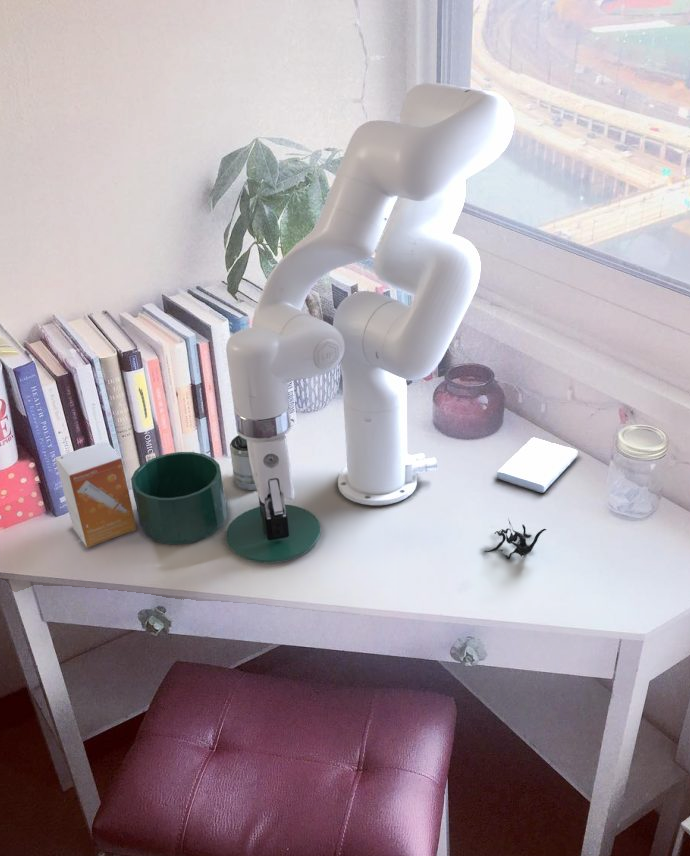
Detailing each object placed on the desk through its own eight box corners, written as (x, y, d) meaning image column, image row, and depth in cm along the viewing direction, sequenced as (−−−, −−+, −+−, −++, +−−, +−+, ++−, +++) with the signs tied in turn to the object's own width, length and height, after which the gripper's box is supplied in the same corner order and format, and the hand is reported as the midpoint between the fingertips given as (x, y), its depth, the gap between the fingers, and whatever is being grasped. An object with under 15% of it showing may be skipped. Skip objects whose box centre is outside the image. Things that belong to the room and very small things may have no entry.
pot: (221, 488, 146) (215, 446, 141) (231, 535, 135) (225, 491, 131) (139, 502, 144) (129, 459, 139) (142, 550, 133) (133, 506, 129)
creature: (474, 552, 131) (507, 571, 125) (471, 518, 129) (504, 536, 122) (519, 535, 134) (553, 553, 127) (516, 502, 132) (551, 519, 125)
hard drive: (496, 479, 145) (531, 444, 153) (543, 494, 141) (577, 458, 149) (496, 470, 144) (532, 436, 152) (544, 485, 140) (578, 449, 148)
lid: (310, 503, 142) (308, 470, 138) (329, 556, 130) (327, 521, 127) (221, 518, 139) (216, 485, 136) (233, 573, 128) (228, 539, 125)
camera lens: (239, 494, 144) (233, 452, 140) (230, 474, 149) (225, 433, 145) (277, 486, 146) (273, 444, 141) (267, 466, 151) (263, 425, 146)
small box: (87, 549, 134) (67, 475, 127) (72, 529, 139) (53, 456, 131) (138, 530, 138) (122, 457, 130) (122, 510, 142) (106, 439, 135)
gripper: (301, 445, 117) (310, 556, 128) (279, 387, 131) (289, 491, 141) (244, 454, 116) (258, 565, 127) (228, 394, 130) (242, 499, 140)
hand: (274, 525), depth 134 cm, fingers open, 5 cm apart
